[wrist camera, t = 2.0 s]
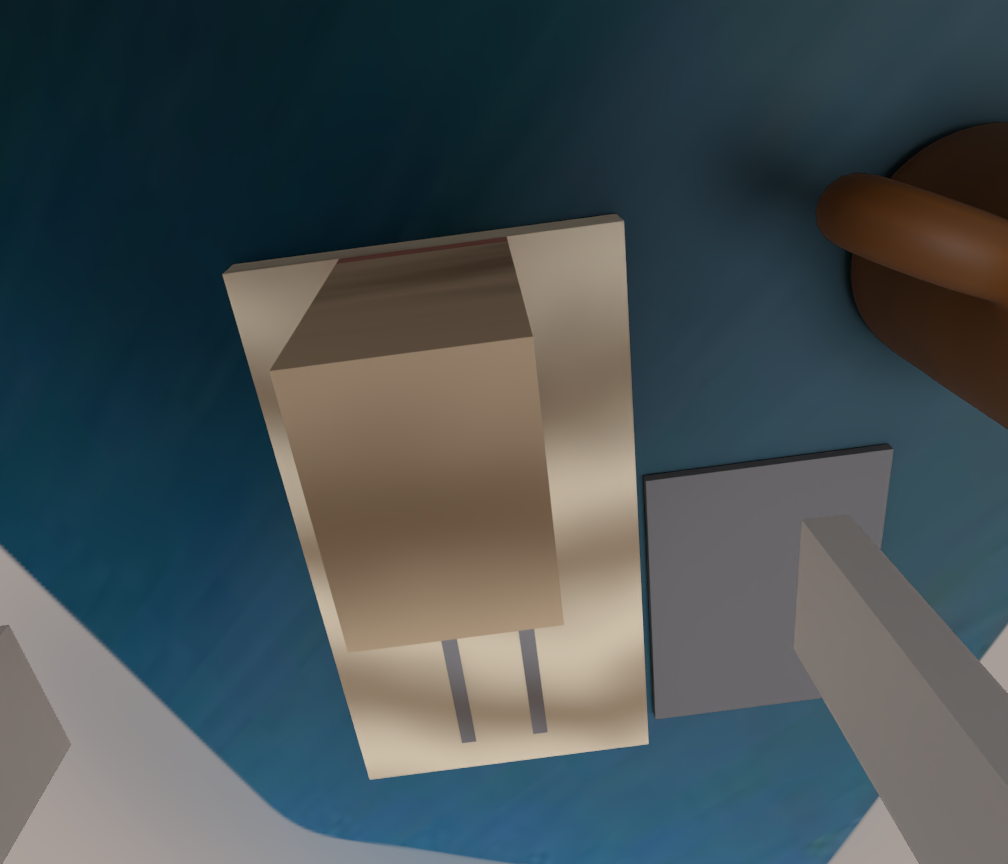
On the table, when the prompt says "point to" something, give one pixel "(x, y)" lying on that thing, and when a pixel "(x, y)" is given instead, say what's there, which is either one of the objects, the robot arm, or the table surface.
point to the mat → (743, 572)
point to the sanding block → (423, 446)
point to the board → (575, 510)
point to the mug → (934, 260)
